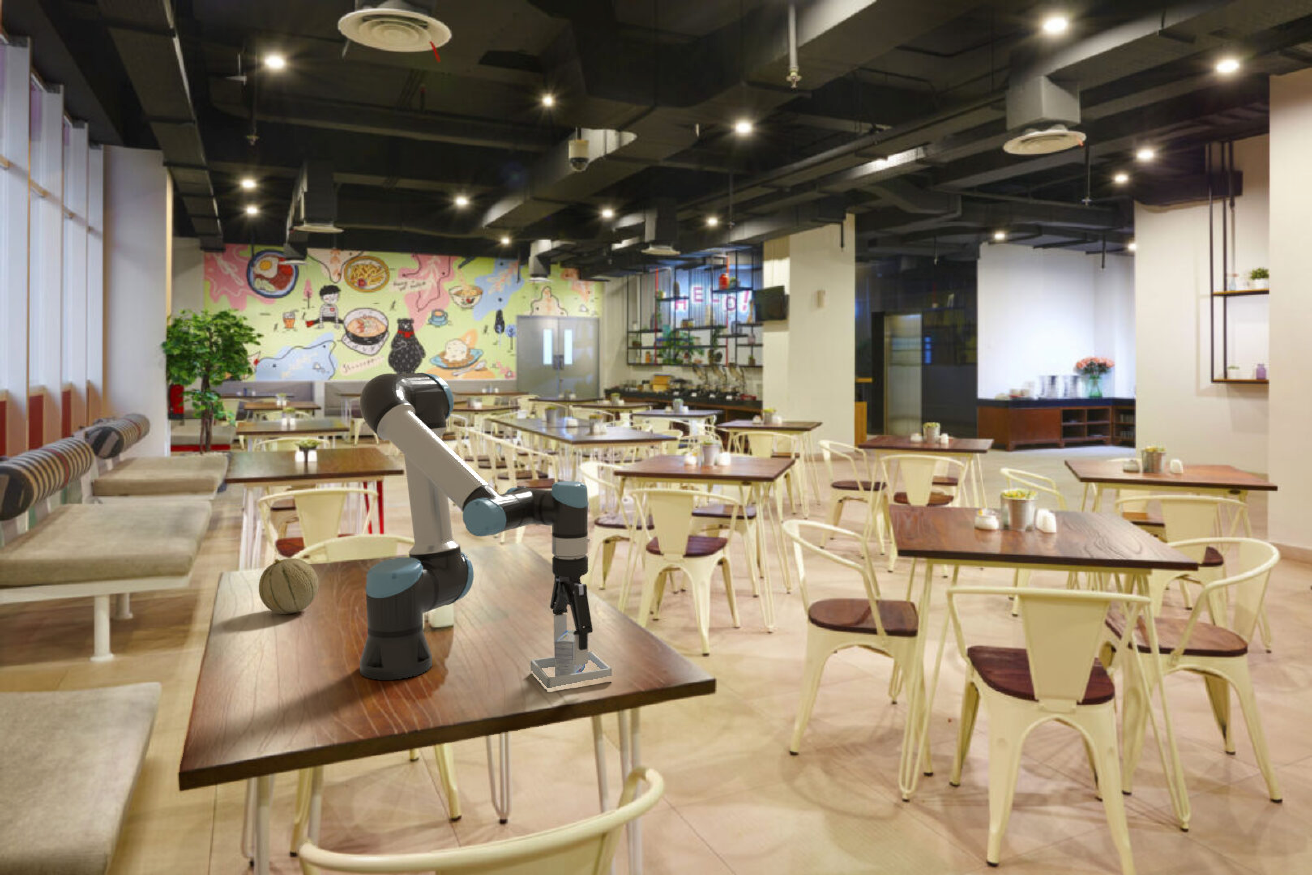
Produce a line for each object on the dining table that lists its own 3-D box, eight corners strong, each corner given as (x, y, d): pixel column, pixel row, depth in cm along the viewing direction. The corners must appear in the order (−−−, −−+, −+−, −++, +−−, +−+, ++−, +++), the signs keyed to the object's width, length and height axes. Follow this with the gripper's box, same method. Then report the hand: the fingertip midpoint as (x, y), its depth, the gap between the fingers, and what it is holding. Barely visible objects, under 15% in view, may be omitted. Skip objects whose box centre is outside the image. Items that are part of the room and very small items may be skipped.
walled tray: (547, 692, 174) (547, 678, 174) (530, 673, 185) (530, 659, 185) (611, 682, 180) (611, 668, 180) (591, 664, 191) (591, 651, 191)
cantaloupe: (331, 609, 232) (329, 555, 230) (283, 624, 219) (281, 566, 218) (295, 601, 239) (293, 549, 238) (247, 615, 227) (245, 559, 225)
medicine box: (574, 682, 178) (574, 642, 177) (554, 680, 179) (554, 640, 178) (585, 669, 186) (585, 630, 185) (566, 667, 187) (565, 629, 186)
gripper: (608, 566, 170) (608, 670, 172) (567, 542, 193) (568, 634, 195) (572, 570, 167) (573, 675, 169) (535, 545, 190) (536, 638, 192)
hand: (570, 653), depth 182 cm, fingers open, 13 cm apart
